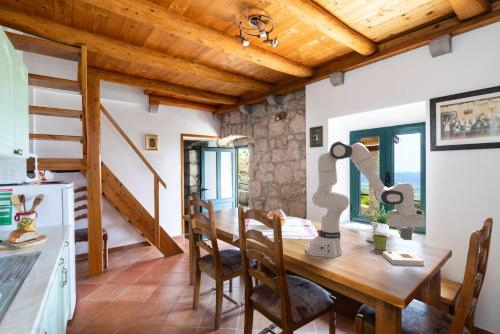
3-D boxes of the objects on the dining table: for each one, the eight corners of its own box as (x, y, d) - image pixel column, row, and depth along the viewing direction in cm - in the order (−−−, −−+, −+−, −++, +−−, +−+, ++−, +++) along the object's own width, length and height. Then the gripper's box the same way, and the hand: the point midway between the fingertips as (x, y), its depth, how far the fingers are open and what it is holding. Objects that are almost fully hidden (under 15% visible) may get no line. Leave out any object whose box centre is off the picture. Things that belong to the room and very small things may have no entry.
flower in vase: (379, 239, 184) (379, 206, 184) (386, 244, 173) (386, 208, 173) (361, 239, 186) (361, 206, 186) (367, 243, 174) (366, 208, 174)
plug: (404, 239, 141) (404, 228, 141) (400, 237, 146) (400, 226, 146) (411, 240, 140) (411, 228, 140) (407, 237, 145) (407, 226, 145)
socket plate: (393, 264, 137) (393, 258, 137) (382, 255, 151) (382, 250, 151) (423, 265, 135) (423, 259, 135) (410, 256, 149) (410, 251, 149)
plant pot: (379, 252, 157) (379, 238, 157) (369, 247, 166) (368, 234, 166) (391, 250, 159) (391, 237, 160) (380, 246, 169) (380, 233, 169)
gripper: (388, 211, 141) (389, 235, 141) (427, 211, 139) (427, 235, 139) (384, 209, 147) (384, 232, 147) (420, 209, 145) (421, 232, 145)
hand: (405, 234), depth 143 cm, fingers closed on plug, 4 cm apart
